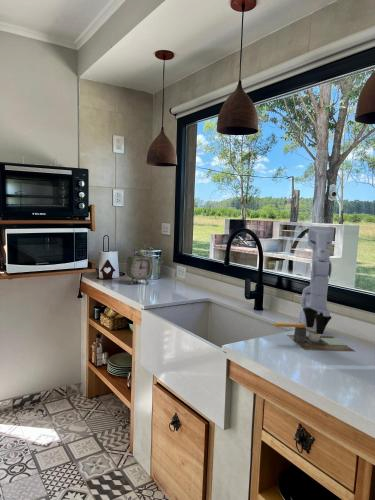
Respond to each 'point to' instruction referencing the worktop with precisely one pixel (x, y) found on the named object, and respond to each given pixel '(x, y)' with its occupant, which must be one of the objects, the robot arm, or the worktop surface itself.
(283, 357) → the worktop surface
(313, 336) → the plug
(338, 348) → the board
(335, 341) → the sage mat
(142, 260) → the tabletop clock
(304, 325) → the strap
